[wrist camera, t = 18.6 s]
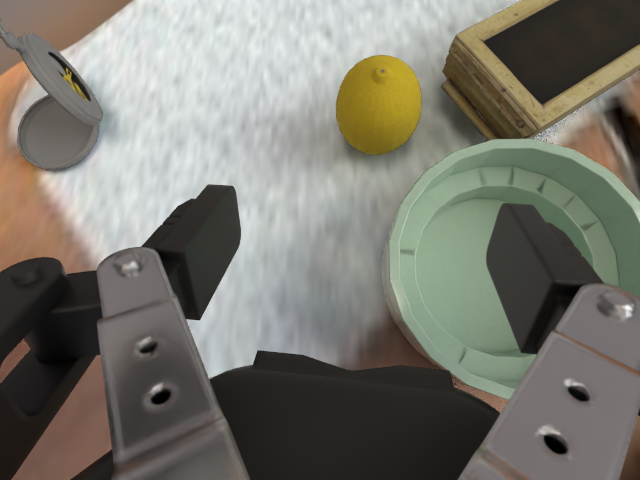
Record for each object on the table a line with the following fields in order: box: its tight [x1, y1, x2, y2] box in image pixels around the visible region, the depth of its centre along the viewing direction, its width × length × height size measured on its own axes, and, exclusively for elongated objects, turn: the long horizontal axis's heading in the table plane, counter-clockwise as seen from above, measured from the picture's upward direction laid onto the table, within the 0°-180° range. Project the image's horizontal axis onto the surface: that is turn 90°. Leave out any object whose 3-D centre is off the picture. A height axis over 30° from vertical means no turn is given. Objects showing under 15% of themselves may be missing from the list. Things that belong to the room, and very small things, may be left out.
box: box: [441, 0, 640, 141], centre depth 27 cm, size 8×22×5 cm, turn 125°
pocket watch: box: [0, 20, 103, 170], centre depth 26 cm, size 8×8×10 cm
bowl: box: [382, 139, 640, 400], centre depth 23 cm, size 14×14×6 cm
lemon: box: [336, 55, 422, 155], centre depth 25 cm, size 6×6×8 cm
